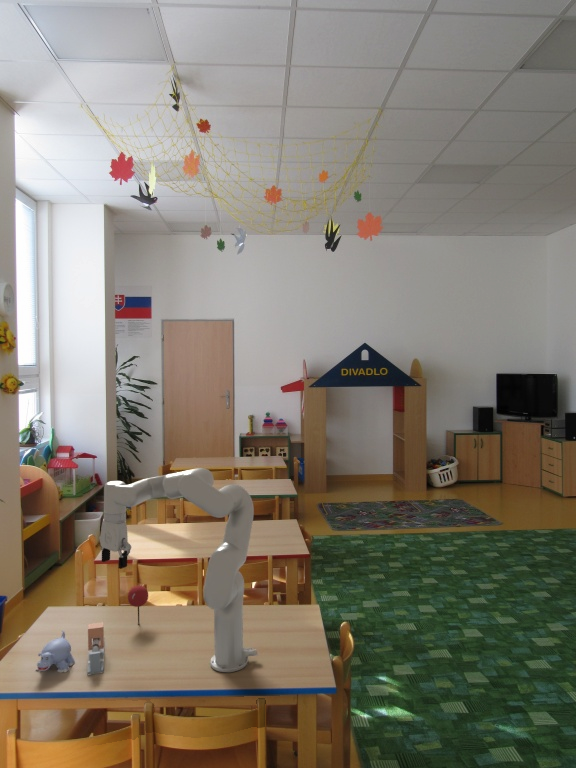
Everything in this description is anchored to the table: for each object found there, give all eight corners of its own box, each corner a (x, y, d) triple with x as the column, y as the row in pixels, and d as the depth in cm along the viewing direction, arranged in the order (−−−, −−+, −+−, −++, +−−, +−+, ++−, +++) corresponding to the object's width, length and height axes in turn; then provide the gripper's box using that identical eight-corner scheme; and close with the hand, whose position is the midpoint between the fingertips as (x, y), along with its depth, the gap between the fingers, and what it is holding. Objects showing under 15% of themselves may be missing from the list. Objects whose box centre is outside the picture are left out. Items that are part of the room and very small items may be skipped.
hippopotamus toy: (26, 680, 189) (25, 651, 188) (50, 656, 204) (49, 629, 203) (57, 682, 188) (56, 652, 187) (79, 658, 202) (79, 631, 202)
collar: (103, 643, 207) (103, 622, 206) (103, 648, 203) (103, 627, 202) (88, 645, 205) (88, 624, 205) (88, 650, 201) (87, 629, 201)
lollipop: (126, 622, 229) (126, 584, 229) (146, 618, 233) (145, 581, 232) (130, 630, 222) (129, 591, 222) (150, 626, 226) (149, 588, 225)
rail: (104, 640, 215) (104, 622, 215) (103, 672, 193) (102, 652, 192) (90, 642, 213) (89, 624, 213) (87, 675, 191) (86, 654, 191)
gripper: (91, 514, 210) (90, 561, 211) (121, 523, 199) (120, 573, 200) (108, 510, 216) (108, 555, 217) (139, 519, 205) (138, 567, 206)
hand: (114, 564), depth 208 cm, fingers open, 9 cm apart
